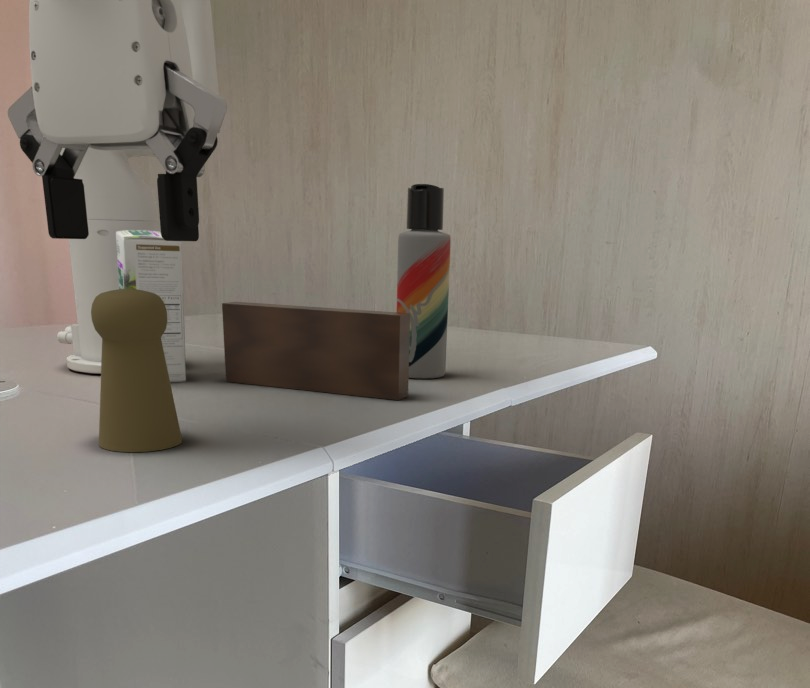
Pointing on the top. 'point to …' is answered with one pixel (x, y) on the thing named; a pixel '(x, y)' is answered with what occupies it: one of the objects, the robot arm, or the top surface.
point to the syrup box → (157, 286)
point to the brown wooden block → (317, 349)
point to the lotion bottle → (425, 280)
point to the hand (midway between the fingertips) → (123, 239)
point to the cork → (134, 373)
